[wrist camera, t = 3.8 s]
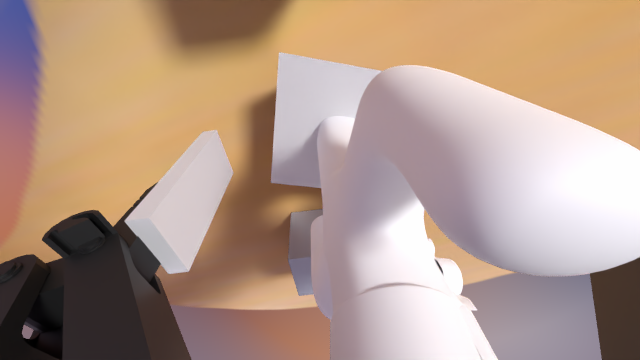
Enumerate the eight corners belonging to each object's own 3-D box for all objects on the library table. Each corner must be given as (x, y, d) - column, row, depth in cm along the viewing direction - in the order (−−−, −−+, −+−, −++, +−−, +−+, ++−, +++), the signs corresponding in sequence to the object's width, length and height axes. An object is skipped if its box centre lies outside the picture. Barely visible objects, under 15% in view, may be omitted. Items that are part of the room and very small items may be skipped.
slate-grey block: (291, 212, 21) (287, 259, 17) (346, 205, 21) (356, 251, 17) (299, 247, 24) (299, 295, 20) (348, 242, 24) (357, 289, 20)
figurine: (275, 166, 18) (215, 485, 6) (286, 21, 13) (-126, 140, 1) (365, 176, 19) (474, 466, 7) (409, 45, 14) (1239, 283, 2)
